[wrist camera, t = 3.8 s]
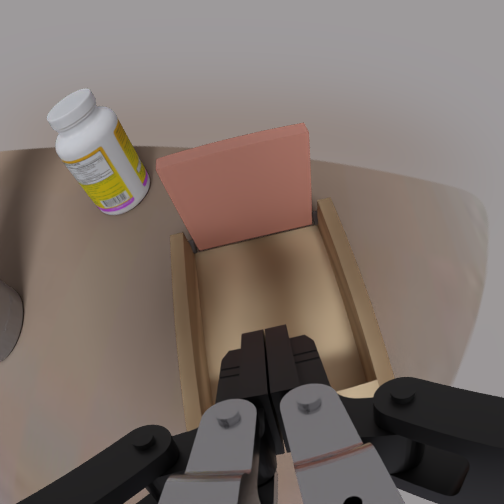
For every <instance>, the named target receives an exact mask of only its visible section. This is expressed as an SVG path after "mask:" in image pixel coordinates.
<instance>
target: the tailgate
mask: <svg viewBox="0 0 504 504" xmlns="http://www.w3.org/2000/svg"><path fill="white" fill-rule="evenodd" d="M156 171H157V173H158V175H159V177H160V179H161V181H162V183H163V185H164V187H165V188H166V190H167V192H168V194H169V196H170V198H171V200H172V202H173V204H174V205H175V207H176V209H177V211H178V213H179V215H180V217H181V218H182V220H183V222H184V224H185V226H186V228H187V229H188V231H189V233H190V235H191V237H192V238H193V240H194V242H195V244H196V246H197V247H198V249H199V251H200V250H205V249H209V248H213V247H217V246H221V245H225V244H230V243H234V242H238V241H242V240H246V239H251V238H255V237H259V236H263V235H268V234H272V233H276V232H281V231H285V230H289V229H294V228H298V227H302V226H307V225H311V224H312V202H311V169H310V146H309V132H308V130H307V128H306V126H305V124H304V123H300V124H294V125H289V126H284V127H279V128H274V129H270V130H264V131H260V132H255V133H251V134H247V135H242V136H238V137H234V138H230V139H226V140H222V141H218V142H214V143H211V144H206V145H203V146H199V147H195V148H192V149H188V150H185V151H181V152H178V153H174V154H171V155H168V156H164V157H161V158H158V159H156Z"/></svg>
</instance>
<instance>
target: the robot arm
mask: <svg viewBox="0 0 504 504" xmlns="http://www.w3.org/2000/svg"><path fill="white" fill-rule="evenodd" d="M22 320H23V307H22V301H21V298H20V296H19V294H18V293H17V292H16V291H15V290H14V289H12V288H11V287H10V286H8V285H7V284H6V283H4V282H3V281H1V280H0V362H1V361H2V360H4V359H5V358H6V357H7V356H8V355H9V354H10V352H11V351H12V349H13V347H14V346H15V344H16V341H17V339H18V337H19V333H20V330H21V326H22ZM283 440H284V443H283ZM284 444H285V447H286V451H287V453H288V452H291V455H292V459H293V463H294V468H295V472H296V476H297V480H298V484H299V488H300V492H301V496H302V500H303V504H405V502H404V501H403V499H402V497H401V495H400V493H399V491H398V490H397V488H399V489H401V490H403V491H406V492H408V493H411V494H413V495H416V496H419V497H421V498H424V499H427V500H429V501H432V502H435V503H438V504H504V398H502V397H497V396H492V395H487V394H482V393H477V392H473V391H468V390H464V389H459V388H454V387H451V386H446V385H442V384H438V383H434V382H430V381H426V380H422V379H418V378H413V377H401V378H396V379H392V380H390V381H387V382H385V383H384V384H382V385H381V386H380V387H379V388H378V389H377V390H376V391H375V393H374V396H373V397H371V398H348V397H344V396H342V395H339V394H338V393H337V392H336V391H335V390H334V389H333V388H332V387H331V386H330V383H329V380H328V377H327V375H326V372H325V369H324V367H323V364H322V361H321V358H320V356H319V353H318V351H317V348H316V345H315V342H314V340H312V339H311V338H309V337H308V336H306V335H301V336H296V337H292V338H289V335H288V330H287V326H286V324H284V325H280V326H275V327H271V328H266V329H265V333H264V330H263V329H262V330H257V331H253V332H248V333H243V334H242V335H241V349H235V350H230V351H228V353H227V354H226V355H225V356H224V358H223V359H222V361H221V367H220V374H219V381H218V387H217V394H216V401H215V405H213V406H211V407H210V408H209V409H207V410H206V411H205V413H204V414H203V415H202V418H201V421H200V424H199V427H198V428H196V429H193V430H191V431H188V432H185V433H181V434H178V435H175V436H171V434H170V432H169V431H168V430H167V429H166V428H165V427H162V426H159V425H146V426H142V427H139V428H137V429H135V430H133V431H131V432H130V433H128V434H127V435H125V436H124V437H122V438H121V439H120V440H118V441H117V442H115V443H114V444H112V445H111V446H109V447H108V448H106V449H105V450H103V451H102V452H100V453H99V454H97V455H96V456H94V457H93V458H91V459H89V460H88V461H86V462H85V463H83V464H82V465H80V466H79V467H77V468H75V469H74V470H72V471H71V472H69V473H67V474H66V475H64V476H63V477H61V478H59V479H58V480H56V481H54V482H53V483H51V484H49V485H48V486H46V487H44V488H43V489H41V490H39V491H38V492H36V493H34V494H32V495H31V496H29V497H27V498H25V499H24V500H22V501H20V502H18V503H16V504H123V503H125V502H126V501H127V500H129V499H130V498H131V497H133V496H134V495H136V494H137V493H138V492H140V491H141V490H142V489H144V488H146V489H147V490H148V492H149V493H150V494H148V495H147V496H146V497H144V498H143V499H142V500H140V501H139V502H138V503H136V504H277V503H278V474H277V471H276V468H277V462H276V455H278V454H284V453H285V451H284Z"/></svg>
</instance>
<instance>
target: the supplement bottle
mask: <svg viewBox="0 0 504 504" xmlns="http://www.w3.org/2000/svg"><path fill="white" fill-rule="evenodd" d="M47 120H48V122H49V124H50V125H51V127H52V129H53V130H55V131H57V132H58V133H59V134H58V136H57V139H56V144H55V147H56V152H57V154H58V155H59V157H60V158H61V160H62V161H63V163H64V164H65V165H66V166H67V168H68V169H69V171H70V172H71V173H72V175H73V176H74V177H75V179H76V180H77V181H78V182H79V184H80V185H81V186H82V188H83V189H84V190H85V192H86V193H87V194H88V196H89V197H90V198H91V199H92V201H93V202H94V203H95V204H96V206H97V207H98V208H99V209H100V210H101V211H102V212H103V213H106V214H109V215H118V214H122V213H125V212H127V211H129V210H131V209H132V208H134V207H135V206H136V205H138V204H139V203H140V202H141V200H142V199H143V198H144V197H145V195H146V193H147V192H148V189H149V185H150V178H149V175H148V173H147V171H146V169H145V167H144V166H143V164H142V162H141V160H140V158H139V157H138V155H137V153H136V151H135V149H134V148H133V146H132V144H131V142H130V140H129V139H128V137H127V135H126V133H125V131H124V129H123V127H122V126H121V124H120V122H119V120H118V118H117V116H116V114H115V113H114V111H113V110H112V109H110V108H108V107H104V106H98V107H97V106H96V101H95V97H94V95H93V94H92V92H91V90H90V89H88V88H84V89H80V90H78V91H75V92H73V93H71V94H70V95H68V96H66V97H65V98H64V99H62V100H61V101H60V102H58V103H57V104H56V105H55V106H54V107H53V108H52V110H51V111H50V112H49V114H48V116H47Z"/></svg>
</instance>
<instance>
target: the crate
mask: <svg viewBox="0 0 504 504" xmlns="http://www.w3.org/2000/svg"><path fill="white" fill-rule="evenodd" d="M312 218H313V221H314V224H315V225H313V226H309V227H305V228H300V229H296V230H292V231H287V232H283V233H279V234H275V235H270V236H266V237H262V238H257V239H253V240H249V241H245V242H240V243H236V244H232V245H228V246H224V247H219V248H215V249H211V250H207V251H203V252H199V253H197V246H196V244H195V242H194V240H190V241H188V240H187V239H186V237H185V235H184V234H183V232H182V233H178V234H174V235H170V248H171V271H172V290H173V305H174V319H175V332H176V343H177V354H178V364H179V373H180V382H181V391H182V399H183V407H184V414H185V421H186V428H187V432H188V431H191V430H193V429H196V428H198V427H199V424H200V421H201V418H202V415H203V414H204V413H205V411H206V410H207V409H209V408H210V407H211V406H213V405H215V401H216V394H217V387H218V381H219V374H220V367H221V361H222V359H223V358H224V356H225V355H226V354H227V353H228V351H230V350H235V349H241V335H242V334H243V333H248V332H253V331H257V330H262V329H263V330H264V333H265V329H266V328H271V327H275V326H280V325H284V324H286V326H287V330H288V335H289V338H292V337H296V336H301V335H306V336H308V337H309V338H311V339H312V340H314V342H315V345H316V348H317V351H318V353H319V356H320V358H321V361H322V364H323V367H324V369H325V372H326V375H327V377H328V380H329V383H330V386H331V387H332V388H333V389H334V390H335V391H336V392H337V393H338V394H339V395H342V396H344V397H348V398H371V397H373V396H374V393H375V391H376V390H377V389H378V388H379V387H380V386H381V385H382V384H384V383H385V382H387V381H390V380H392V379H395V378H394V375H393V371H392V368H391V364H390V361H389V357H388V354H387V351H386V348H385V344H384V341H383V338H382V335H381V332H380V328H379V325H378V322H377V319H376V316H375V313H374V310H373V307H372V304H371V301H370V299H369V296H368V293H367V290H366V287H365V284H364V282H363V279H362V276H361V273H360V271H359V268H358V265H357V262H356V260H355V257H354V254H353V252H352V249H351V247H350V244H349V242H348V239H347V236H346V234H345V231H344V229H343V226H342V224H341V222H340V219H339V217H338V214H337V212H336V209H335V207H334V205H333V202H332V200H331V198H326V199H321V200H317V211H313V212H312Z"/></svg>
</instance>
